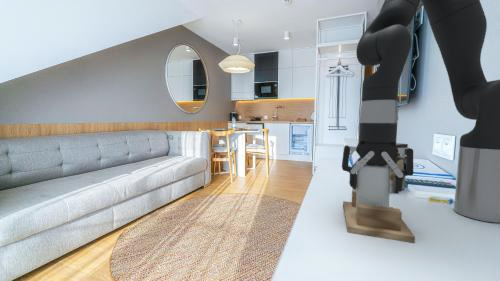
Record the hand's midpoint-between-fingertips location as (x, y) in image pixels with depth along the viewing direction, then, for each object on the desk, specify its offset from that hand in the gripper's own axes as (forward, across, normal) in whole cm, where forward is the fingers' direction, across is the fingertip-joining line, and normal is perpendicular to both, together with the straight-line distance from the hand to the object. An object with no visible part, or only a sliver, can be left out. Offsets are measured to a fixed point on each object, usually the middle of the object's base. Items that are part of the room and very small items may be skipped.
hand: (373, 190), depth 52 cm
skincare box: (+6, 0, 0) cm, 6 cm away
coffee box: (+8, -10, -30) cm, 32 cm away
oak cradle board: (+7, 0, 0) cm, 7 cm away
